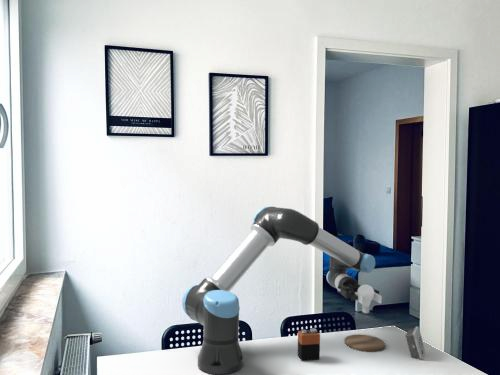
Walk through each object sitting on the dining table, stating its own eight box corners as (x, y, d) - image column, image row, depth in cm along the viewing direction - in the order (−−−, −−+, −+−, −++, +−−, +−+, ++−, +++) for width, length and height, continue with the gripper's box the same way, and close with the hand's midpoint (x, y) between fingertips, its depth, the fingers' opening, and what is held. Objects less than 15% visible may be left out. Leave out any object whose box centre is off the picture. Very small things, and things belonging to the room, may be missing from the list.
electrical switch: (422, 361, 147) (420, 334, 148) (406, 359, 150) (404, 332, 150) (425, 351, 156) (423, 326, 156) (410, 350, 158) (408, 325, 158)
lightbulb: (374, 316, 158) (375, 287, 158) (357, 315, 159) (357, 286, 159) (373, 311, 164) (373, 283, 164) (356, 310, 165) (357, 282, 165)
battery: (320, 360, 146) (320, 331, 146) (301, 361, 145) (301, 332, 145) (315, 355, 151) (316, 327, 151) (297, 356, 149) (297, 328, 149)
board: (336, 342, 163) (336, 339, 163) (361, 334, 172) (361, 331, 172) (368, 355, 151) (368, 352, 151) (393, 346, 160) (393, 343, 160)
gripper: (367, 293, 181) (395, 309, 158) (324, 294, 178) (347, 311, 155) (368, 275, 181) (396, 289, 158) (325, 276, 177) (347, 290, 155)
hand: (371, 300), depth 156 cm, fingers closed on lightbulb, 6 cm apart
